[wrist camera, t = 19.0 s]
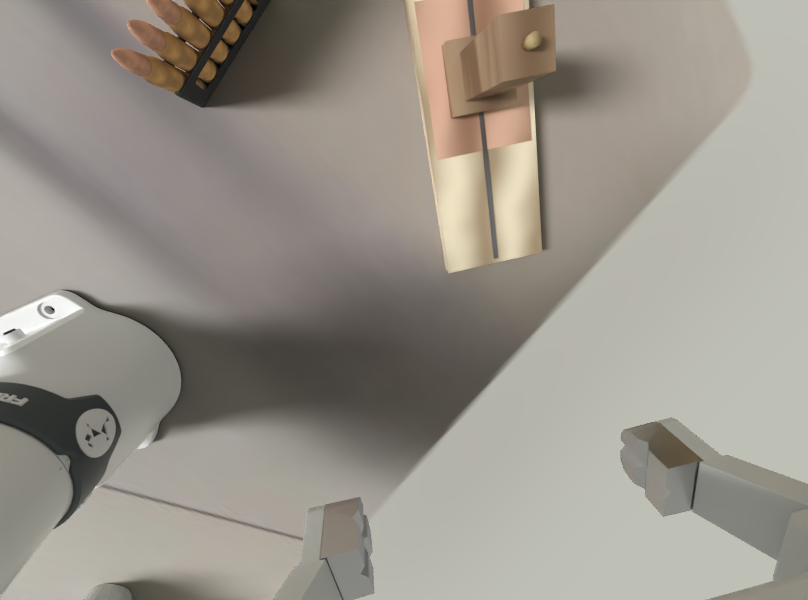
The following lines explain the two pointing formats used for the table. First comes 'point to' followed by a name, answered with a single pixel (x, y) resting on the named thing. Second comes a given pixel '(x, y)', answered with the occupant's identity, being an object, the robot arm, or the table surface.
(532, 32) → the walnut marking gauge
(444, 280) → the table surface
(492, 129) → the maple board
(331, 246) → the table surface
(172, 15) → the ammunition clip
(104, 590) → the house plant
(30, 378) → the robot arm
